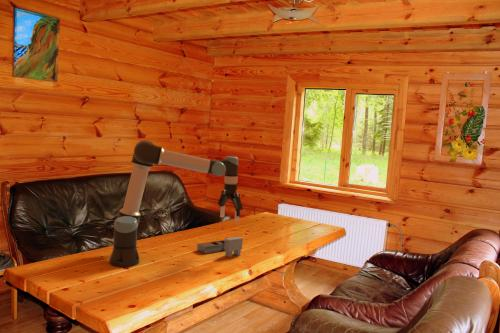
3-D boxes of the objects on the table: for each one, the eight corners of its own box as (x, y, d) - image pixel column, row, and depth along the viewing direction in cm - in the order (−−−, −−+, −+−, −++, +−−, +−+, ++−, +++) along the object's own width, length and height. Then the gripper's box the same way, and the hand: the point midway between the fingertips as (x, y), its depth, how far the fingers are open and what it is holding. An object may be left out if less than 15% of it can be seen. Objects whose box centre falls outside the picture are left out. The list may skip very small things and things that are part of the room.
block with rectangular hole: (204, 254, 250) (204, 247, 250) (196, 250, 256) (197, 243, 256) (239, 248, 267) (240, 241, 266) (231, 244, 273) (232, 238, 273)
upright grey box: (227, 257, 246) (228, 240, 245) (223, 255, 249) (224, 238, 248) (241, 255, 253) (242, 238, 252) (237, 253, 256) (238, 236, 255)
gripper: (249, 185, 243) (248, 223, 245) (223, 180, 262) (221, 214, 264) (239, 186, 238) (237, 224, 240) (212, 180, 257) (211, 216, 259)
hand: (229, 219), depth 252 cm, fingers open, 13 cm apart
